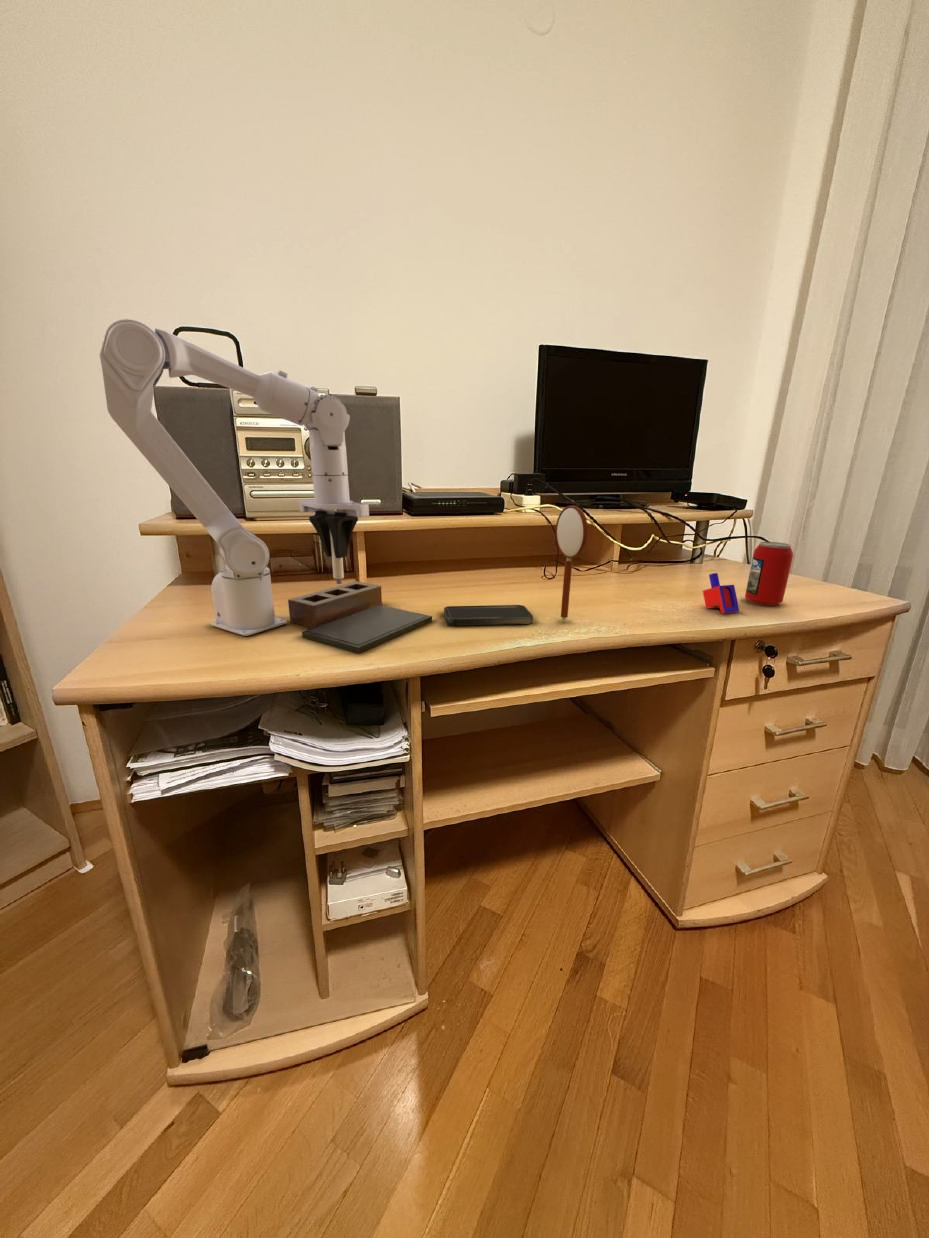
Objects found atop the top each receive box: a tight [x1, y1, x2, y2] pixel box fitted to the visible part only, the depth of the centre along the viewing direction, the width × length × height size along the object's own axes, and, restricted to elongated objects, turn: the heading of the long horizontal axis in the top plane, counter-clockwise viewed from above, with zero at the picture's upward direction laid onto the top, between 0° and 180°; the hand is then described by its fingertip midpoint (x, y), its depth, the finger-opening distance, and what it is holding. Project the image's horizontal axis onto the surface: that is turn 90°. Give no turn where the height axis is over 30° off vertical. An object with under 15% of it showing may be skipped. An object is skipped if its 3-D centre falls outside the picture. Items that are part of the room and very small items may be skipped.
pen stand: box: [287, 580, 383, 629], centre depth 88 cm, size 6×16×4 cm, turn 148°
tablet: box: [301, 604, 433, 655], centre depth 80 cm, size 12×18×1 cm, turn 148°
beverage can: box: [744, 541, 794, 607], centre depth 98 cm, size 7×7×12 cm
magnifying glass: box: [555, 505, 589, 623], centre depth 83 cm, size 9×2×20 cm, turn 21°
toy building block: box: [702, 572, 740, 615], centre depth 94 cm, size 4×4×8 cm
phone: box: [443, 604, 534, 626], centre depth 87 cm, size 8×1×15 cm
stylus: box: [330, 532, 345, 585], centre depth 85 cm, size 2×2×11 cm
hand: (336, 556), depth 85 cm, fingers closed on stylus, 2 cm apart
